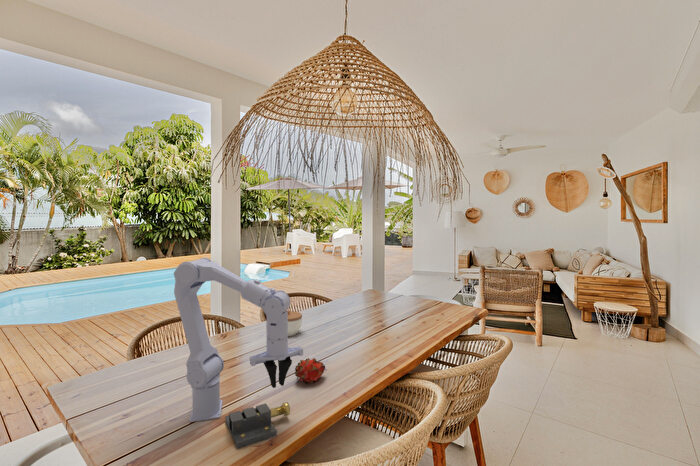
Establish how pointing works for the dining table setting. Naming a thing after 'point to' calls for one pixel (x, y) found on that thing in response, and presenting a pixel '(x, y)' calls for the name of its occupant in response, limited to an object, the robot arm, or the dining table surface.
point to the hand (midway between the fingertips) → (277, 385)
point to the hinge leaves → (250, 425)
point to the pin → (280, 410)
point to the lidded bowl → (294, 322)
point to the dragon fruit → (309, 370)
